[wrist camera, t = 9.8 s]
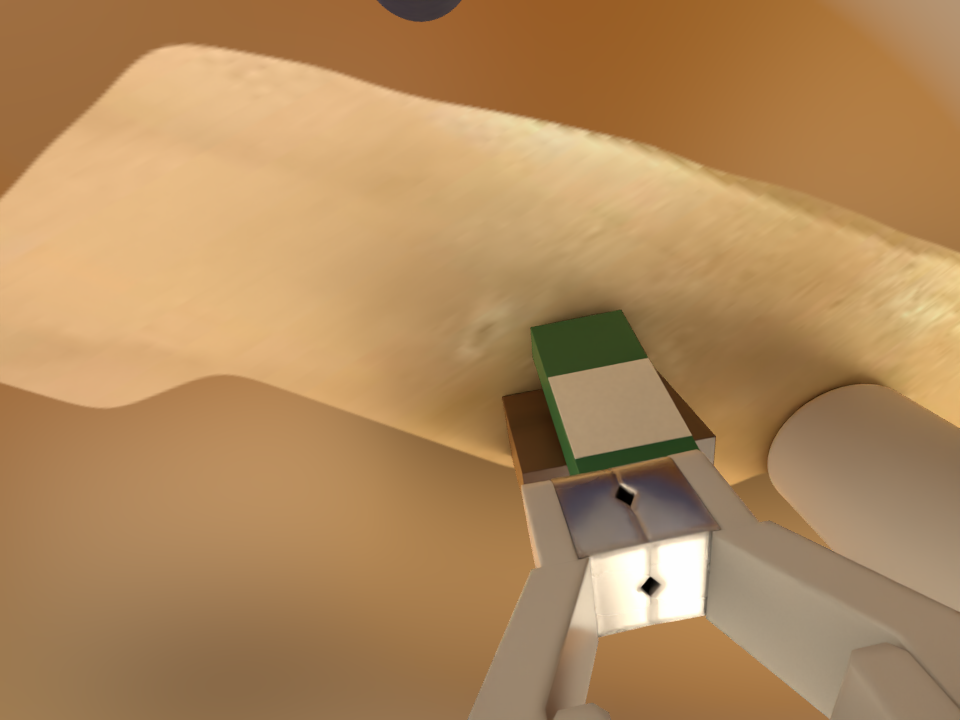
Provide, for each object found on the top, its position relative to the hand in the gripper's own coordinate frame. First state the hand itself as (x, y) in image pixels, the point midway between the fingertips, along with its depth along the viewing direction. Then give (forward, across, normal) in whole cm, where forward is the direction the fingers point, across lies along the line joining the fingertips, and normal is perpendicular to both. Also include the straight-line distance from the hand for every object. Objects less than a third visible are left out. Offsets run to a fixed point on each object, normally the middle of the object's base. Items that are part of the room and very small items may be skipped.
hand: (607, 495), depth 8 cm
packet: (+17, -6, +12) cm, 22 cm away
